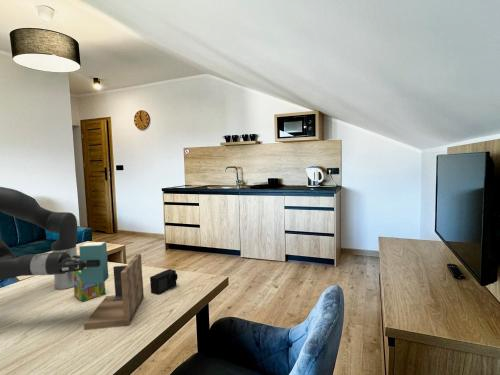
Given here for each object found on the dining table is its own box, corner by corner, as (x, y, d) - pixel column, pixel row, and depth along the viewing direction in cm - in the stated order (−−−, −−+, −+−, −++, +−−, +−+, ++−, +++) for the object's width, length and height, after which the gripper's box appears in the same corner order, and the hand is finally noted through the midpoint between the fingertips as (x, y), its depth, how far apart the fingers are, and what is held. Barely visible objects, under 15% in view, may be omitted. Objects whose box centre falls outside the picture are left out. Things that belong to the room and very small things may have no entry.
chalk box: (74, 296, 118) (71, 261, 117) (97, 288, 125) (95, 255, 124) (82, 302, 112) (79, 265, 111) (106, 294, 119) (103, 259, 118)
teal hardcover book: (88, 278, 102) (85, 242, 101) (108, 277, 103) (106, 241, 102) (82, 284, 98) (79, 246, 97) (103, 282, 98) (100, 245, 97)
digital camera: (159, 295, 116) (158, 279, 115) (150, 293, 119) (149, 276, 118) (178, 286, 124) (177, 270, 124) (169, 283, 127) (169, 268, 127)
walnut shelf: (106, 300, 113) (103, 256, 111) (143, 297, 114) (140, 253, 113) (84, 329, 93) (79, 275, 91) (129, 325, 95) (125, 272, 93)
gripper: (36, 259, 91) (93, 256, 93) (61, 247, 105) (109, 244, 107) (38, 282, 91) (94, 279, 93) (62, 267, 106) (111, 264, 107)
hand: (102, 260), depth 100 cm, fingers closed on teal hardcover book, 4 cm apart
